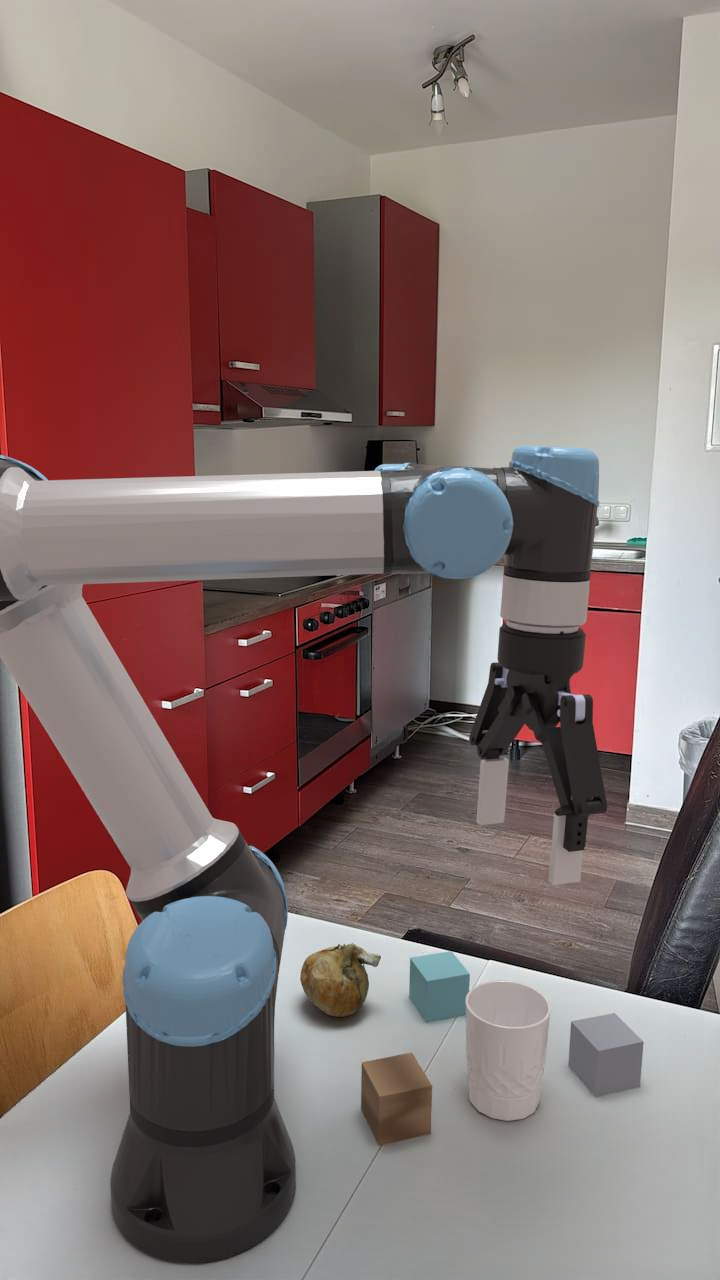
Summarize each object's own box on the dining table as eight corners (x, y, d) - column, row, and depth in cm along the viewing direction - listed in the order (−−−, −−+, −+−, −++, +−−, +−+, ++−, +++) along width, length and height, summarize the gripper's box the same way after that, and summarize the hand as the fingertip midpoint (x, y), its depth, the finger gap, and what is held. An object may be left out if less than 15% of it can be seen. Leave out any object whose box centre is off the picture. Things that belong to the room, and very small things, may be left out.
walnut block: (378, 1146, 85) (379, 1096, 84) (360, 1109, 89) (361, 1062, 88) (430, 1134, 86) (432, 1085, 85) (410, 1099, 91) (411, 1052, 90)
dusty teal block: (425, 1023, 103) (427, 981, 102) (409, 998, 108) (410, 957, 107) (468, 1015, 105) (469, 973, 104) (449, 991, 109) (451, 951, 108)
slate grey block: (595, 1097, 92) (598, 1051, 91) (568, 1066, 96) (571, 1021, 95) (639, 1087, 93) (643, 1041, 92) (611, 1057, 98) (614, 1012, 97)
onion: (343, 980, 111) (344, 917, 109) (384, 1014, 105) (386, 947, 103) (287, 1001, 107) (287, 935, 105) (327, 1037, 100) (327, 968, 99)
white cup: (551, 1127, 87) (557, 1029, 85) (465, 1125, 88) (469, 1027, 86) (537, 1072, 95) (543, 980, 93) (458, 1070, 95) (462, 979, 93)
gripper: (668, 653, 74) (641, 906, 78) (511, 601, 97) (496, 799, 101) (585, 656, 72) (562, 917, 76) (444, 602, 94) (432, 805, 99)
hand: (524, 850), depth 88 cm, fingers open, 13 cm apart
